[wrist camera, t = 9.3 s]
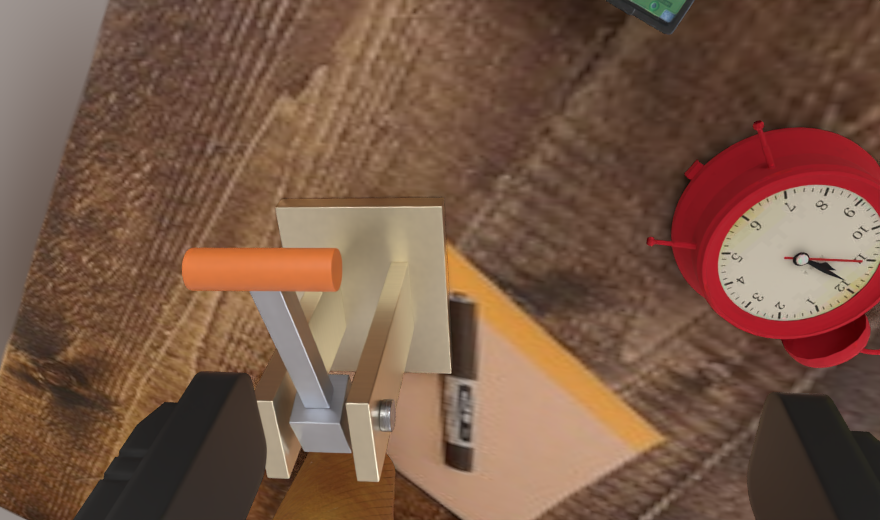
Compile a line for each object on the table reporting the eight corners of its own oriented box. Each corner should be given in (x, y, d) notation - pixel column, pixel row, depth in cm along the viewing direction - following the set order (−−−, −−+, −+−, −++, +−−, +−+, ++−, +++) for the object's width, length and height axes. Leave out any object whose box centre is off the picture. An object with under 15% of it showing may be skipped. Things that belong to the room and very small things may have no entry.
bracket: (281, 198, 38) (183, 334, 27) (444, 197, 37) (412, 337, 26) (310, 358, 43) (238, 527, 32) (452, 361, 42) (430, 536, 31)
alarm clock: (780, 91, 29) (1072, 304, 29) (760, 73, 34) (1004, 251, 34) (620, 267, 34) (868, 451, 33) (625, 226, 39) (839, 383, 39)
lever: (194, 228, 23) (171, 284, 22) (339, 228, 23) (325, 284, 21) (285, 403, 32) (273, 451, 31) (389, 406, 32) (383, 454, 30)
